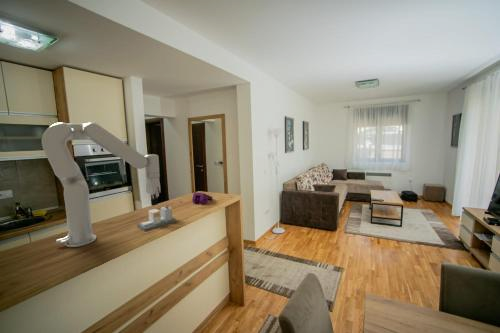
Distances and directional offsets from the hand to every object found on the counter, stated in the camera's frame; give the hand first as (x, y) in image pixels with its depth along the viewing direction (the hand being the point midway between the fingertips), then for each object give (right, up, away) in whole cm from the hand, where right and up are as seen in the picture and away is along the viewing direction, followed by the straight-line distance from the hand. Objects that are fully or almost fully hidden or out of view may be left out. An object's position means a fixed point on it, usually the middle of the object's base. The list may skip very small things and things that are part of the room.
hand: (154, 204), depth 133 cm
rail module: (0, -11, +1) cm, 11 cm away
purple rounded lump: (+19, -7, +50) cm, 54 cm away
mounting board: (+1, -13, +3) cm, 13 cm away
